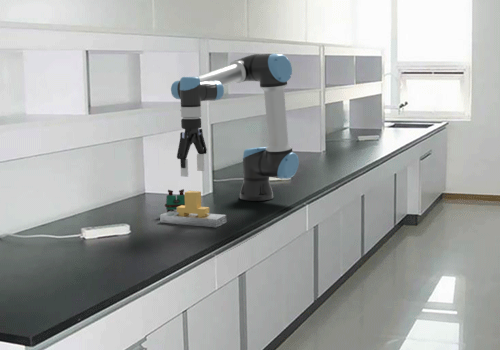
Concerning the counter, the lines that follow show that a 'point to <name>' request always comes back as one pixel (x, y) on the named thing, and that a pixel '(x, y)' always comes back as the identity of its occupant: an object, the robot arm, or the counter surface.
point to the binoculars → (174, 200)
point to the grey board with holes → (193, 219)
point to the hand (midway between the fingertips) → (192, 173)
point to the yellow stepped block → (193, 205)
